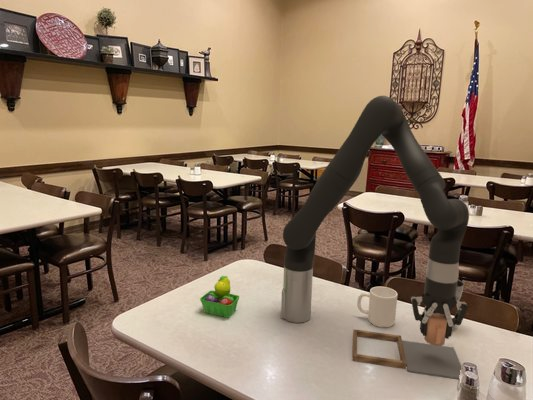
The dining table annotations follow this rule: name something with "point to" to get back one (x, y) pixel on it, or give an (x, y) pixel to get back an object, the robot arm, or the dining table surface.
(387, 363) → the walnut frame
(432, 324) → the orange mug
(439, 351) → the rubber mat
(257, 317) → the dining table surface
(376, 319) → the cup
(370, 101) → the robot arm
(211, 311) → the fruit basket
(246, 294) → the dining table surface
